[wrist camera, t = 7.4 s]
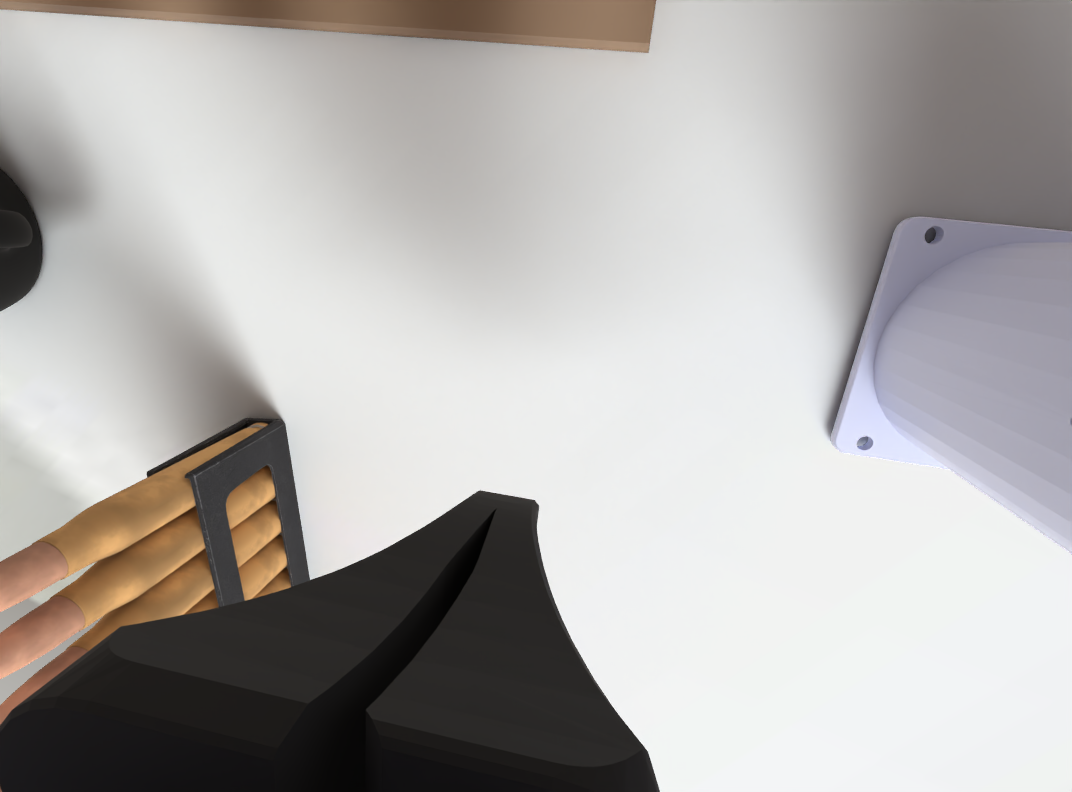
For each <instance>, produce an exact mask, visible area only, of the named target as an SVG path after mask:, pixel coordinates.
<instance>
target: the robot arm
mask: <svg viewBox="0 0 1072 792" xmlns="http://www.w3.org/2000/svg"><path fill="white" fill-rule="evenodd" d="M931 227H933V228H934V229H935V230H936V237H935V239H934V240H933V241H932V242H930V243H927V242H926V240H925V233H926V232H927V230H928V229H929V228H931ZM865 436H868V441H867V442H866V444H864V445H862V446H857V441H858V440H859V439H860V438H861V437H865ZM831 442H832V445H833V446H834V447H835V448H836V449H837V450H839V451H840V452H842V453H845V454H852V455H858V456H865V457H871V458H878V459H884V460H891V461H897V462H904V463H910V464H916V465H923V466H929V467H936V468H942V469H949V470H951V471H952V472H954V473H955V474H957V475H958V476H960V477H961V478H962V479H964V480H965V481H967V482H968V483H970V484H971V485H973V486H974V487H975V488H977V489H978V490H980V491H981V492H983V493H984V494H985V495H987V496H988V497H990V498H991V499H993V500H994V501H996V502H997V503H998V504H1000V505H1001V506H1003V507H1004V508H1006V509H1007V510H1009V511H1010V512H1011V513H1013V514H1014V515H1016V516H1017V517H1019V518H1020V519H1022V520H1023V521H1024V522H1026V523H1027V524H1029V525H1030V526H1032V527H1033V528H1035V529H1036V530H1037V531H1039V532H1040V533H1042V534H1043V535H1045V536H1046V537H1047V538H1049V539H1050V540H1052V541H1053V542H1055V543H1056V544H1058V545H1059V546H1060V547H1062V548H1063V549H1065V550H1066V551H1068V552H1069V553H1071V554H1072V231H1063V230H1053V229H1043V228H1033V227H1023V226H1013V225H1003V224H993V223H983V222H973V221H963V220H953V219H943V218H933V217H923V216H920V217H909V218H907V219H905V220H903V221H902V222H900V223H899V224H898V225H897V227H896V229H895V231H894V233H893V236H892V240H891V243H890V246H889V249H888V253H887V256H886V259H885V262H884V266H883V269H882V272H881V275H880V279H879V282H878V285H877V288H876V291H875V295H874V298H873V301H872V304H871V308H870V311H869V314H868V317H867V321H866V324H865V327H864V330H863V334H862V337H861V340H860V343H859V347H858V350H857V353H856V356H855V359H854V363H853V366H852V369H851V372H850V376H849V379H848V382H847V385H846V389H845V392H844V395H843V398H842V402H841V405H840V408H839V411H838V415H837V418H836V421H835V424H834V428H833V431H832V434H831ZM538 511H539V505H538V504H537V503H536V501H535V500H531V499H525V498H519V497H514V496H508V495H502V494H497V493H491V492H485V491H478V492H476V493H475V494H473V495H472V496H470V497H469V498H467V499H466V500H464V501H463V502H461V503H460V504H458V505H457V506H455V507H454V508H452V509H451V510H449V511H448V512H446V513H445V514H443V515H442V516H440V517H439V518H437V519H436V520H434V521H433V522H431V523H429V524H428V525H426V526H425V527H423V528H421V529H420V530H418V531H416V532H414V533H412V534H411V535H409V536H407V537H405V538H404V539H402V540H400V541H398V542H397V543H395V544H393V545H391V546H389V547H388V548H386V549H384V550H382V551H380V552H378V553H376V554H374V555H371V556H369V557H367V558H365V559H363V560H361V561H358V562H356V563H354V564H351V565H349V566H347V567H345V568H342V569H340V570H337V571H335V572H332V573H329V574H327V575H324V576H321V577H318V578H315V579H313V580H310V581H307V582H304V583H301V584H298V585H296V586H293V587H290V588H287V589H284V590H281V591H278V592H274V593H271V594H267V595H264V596H260V597H257V598H253V599H250V600H246V601H242V602H238V603H234V604H230V605H226V606H222V607H218V608H214V609H209V610H205V611H201V612H195V613H190V614H185V615H180V616H175V617H170V618H164V619H159V620H154V621H149V622H144V623H138V624H132V625H126V626H121V627H119V628H118V629H117V630H115V631H114V632H113V633H111V634H110V635H109V636H107V637H106V638H105V639H103V640H102V641H101V642H100V643H98V644H97V645H96V646H94V647H93V648H92V649H90V650H89V651H88V652H86V653H85V654H84V655H83V656H81V657H80V658H79V659H77V660H76V661H75V662H73V663H72V664H71V665H70V666H68V667H67V668H66V669H64V670H63V671H62V672H60V673H59V674H58V675H57V676H55V677H54V678H53V679H51V680H50V681H49V682H47V683H46V684H45V685H44V686H42V687H41V688H40V689H38V690H37V691H36V692H34V693H33V694H32V695H30V696H29V697H28V698H27V699H25V700H24V701H23V702H21V703H20V704H19V705H17V706H16V707H15V708H14V709H12V710H11V712H10V713H9V714H8V716H7V717H6V718H5V720H4V721H3V722H2V724H1V725H0V787H1V791H2V792H660V791H659V787H658V784H657V781H656V777H655V774H654V770H653V767H652V764H651V761H650V757H649V754H648V751H647V750H646V749H645V747H644V746H643V745H642V744H641V742H640V741H639V740H638V739H637V737H636V736H635V735H634V734H633V732H632V731H631V730H630V729H629V727H628V726H627V725H626V724H625V722H624V721H623V720H622V719H621V717H620V716H619V715H618V713H617V712H616V711H615V709H614V708H613V707H612V705H611V704H610V702H609V701H608V699H607V698H606V696H605V695H604V693H603V692H602V690H601V689H600V687H599V686H598V684H597V683H596V681H595V680H594V678H593V676H592V675H591V673H590V671H589V669H588V668H587V666H586V664H585V662H584V661H583V659H582V657H581V655H580V654H579V652H578V650H577V648H576V647H575V645H574V643H573V641H572V639H571V637H570V635H569V633H568V631H567V629H566V627H565V625H564V623H563V620H562V618H561V616H560V613H559V611H558V609H557V606H556V604H555V601H554V598H553V596H552V593H551V590H550V587H549V584H548V580H547V577H546V574H545V570H544V566H543V562H542V558H541V553H540V548H539V543H538V536H537V519H538Z"/></svg>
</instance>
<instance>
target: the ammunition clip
mask: <svg viewBox="0 0 1072 792" xmlns="http://www.w3.org/2000/svg"><path fill="white" fill-rule="evenodd" d="M147 477H148V478H146V479H144V480H142V481H140V482H138V483H136V484H134V485H132V486H130V487H128V488H126V489H124V490H122V491H120V492H118V493H116V494H114V495H112V496H110V497H108V498H106V499H104V500H102V501H100V502H98V503H96V504H94V505H93V506H91V507H89V508H87V509H86V510H84V511H83V512H81V513H80V514H78V515H77V516H76V517H74V518H73V519H72V520H70V521H69V522H68V523H66V524H65V525H64V526H62V527H61V528H59V529H57V530H56V531H54V532H52V533H50V534H48V535H47V536H45V537H43V538H41V539H39V540H38V541H36V542H34V543H33V544H32V545H31V546H29V547H27V548H25V549H23V550H21V551H19V552H18V553H16V554H14V555H12V556H10V557H8V558H6V559H5V560H3V561H1V562H0V612H1V611H3V610H5V609H7V608H9V607H11V606H13V605H15V604H17V603H19V602H21V601H23V600H25V599H27V598H29V597H31V596H33V595H35V594H36V593H38V592H40V591H42V590H43V589H45V588H47V587H48V586H50V585H52V584H53V583H55V582H57V581H59V580H62V579H64V578H66V577H68V576H70V575H71V574H73V573H75V572H77V571H79V570H80V569H82V568H84V567H86V566H88V565H89V564H92V563H94V562H96V563H95V564H94V565H93V566H92V567H91V568H89V569H88V570H87V571H86V572H85V573H84V574H83V575H82V576H80V577H79V578H78V579H77V580H76V581H74V582H73V583H71V584H70V585H68V586H67V587H65V588H64V589H62V590H61V591H59V592H58V593H57V594H55V595H54V596H52V597H51V598H50V599H49V600H48V601H46V602H45V603H43V604H42V605H40V606H39V607H37V608H36V609H34V610H32V611H31V612H29V613H28V614H26V615H25V616H23V617H22V618H20V619H19V620H17V621H16V622H15V623H13V624H12V625H11V626H9V627H8V628H7V629H5V630H4V631H3V632H1V633H0V679H2V678H4V677H5V676H7V675H9V674H11V673H13V672H15V671H17V670H19V669H20V668H22V667H24V666H26V665H27V664H29V663H31V662H32V661H34V660H36V659H37V658H39V657H41V656H42V655H44V654H46V653H47V652H49V651H51V650H52V649H54V648H55V647H57V646H58V645H59V644H61V643H62V642H64V641H65V640H67V639H68V638H69V637H71V636H72V635H74V634H75V633H77V632H78V631H80V630H83V629H84V628H86V627H87V626H89V625H90V624H92V623H93V622H95V621H96V620H98V619H99V618H101V617H102V616H103V618H102V619H101V620H100V621H99V622H98V623H97V624H96V625H95V626H94V627H93V628H92V629H90V630H89V631H88V632H87V633H85V634H84V635H83V636H82V637H80V638H79V639H78V640H77V641H75V642H74V643H73V644H71V645H70V646H69V647H68V648H67V649H66V651H64V652H63V653H61V654H60V655H59V656H57V657H56V658H55V659H53V660H52V661H51V662H50V663H48V664H47V665H46V666H44V667H43V668H42V669H40V670H39V671H38V672H37V673H36V674H34V675H33V676H32V677H31V678H30V679H28V680H27V681H26V682H25V683H24V684H23V685H22V686H20V687H19V688H18V689H17V690H16V691H15V692H14V693H13V694H12V695H11V696H9V697H8V698H7V699H6V700H5V701H4V702H3V703H2V704H1V705H0V725H1V724H2V722H3V721H4V720H5V718H6V717H7V716H8V714H9V713H10V712H11V710H12V709H14V708H15V707H16V706H17V705H19V704H20V703H21V702H23V701H24V700H25V699H27V698H28V697H29V696H30V695H32V694H33V693H34V692H36V691H37V690H38V689H40V688H41V687H42V686H44V685H45V684H46V683H47V682H49V681H50V680H51V679H53V678H54V677H55V676H57V675H58V674H59V673H60V672H62V671H63V670H64V669H66V668H67V667H68V666H70V665H71V664H72V663H73V662H75V661H76V660H77V659H79V658H80V657H81V656H83V655H84V654H85V653H86V652H88V651H89V650H90V649H92V648H93V647H94V646H96V645H97V644H98V643H100V642H101V641H102V640H103V639H105V638H106V637H107V636H109V635H110V634H111V633H113V632H114V631H115V630H117V629H118V628H119V627H121V626H126V625H132V624H138V623H144V622H149V621H154V620H159V619H164V618H170V617H175V616H180V615H185V614H190V613H195V612H201V611H205V610H209V609H214V608H218V607H222V606H226V605H230V604H234V603H238V602H242V601H246V600H250V599H253V598H257V597H260V596H264V595H267V594H271V593H274V592H278V591H281V590H284V589H287V588H290V587H293V586H296V585H298V584H301V583H304V582H307V581H310V578H309V571H308V565H307V559H306V552H305V546H304V540H303V533H302V527H301V521H300V514H299V508H298V502H297V495H296V489H295V483H294V476H293V470H292V464H291V457H290V451H289V445H288V438H287V432H286V426H285V423H284V422H282V421H281V420H272V419H253V418H245V419H243V420H242V421H240V422H238V423H236V424H234V425H232V426H231V427H229V428H227V429H225V430H223V431H221V432H220V433H218V434H216V435H214V436H212V437H210V438H209V439H207V440H205V441H203V442H201V443H199V444H198V445H196V446H194V447H192V448H190V449H188V450H187V451H185V452H183V453H181V454H179V455H177V456H176V457H174V458H172V459H170V460H168V461H166V462H165V463H163V464H161V465H159V466H157V467H155V468H153V469H151V470H149V471H148V472H147ZM97 561H98V562H97ZM0 792H2V791H1V787H0Z"/></svg>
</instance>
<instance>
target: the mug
mask: <svg viewBox="0 0 1072 792" xmlns="http://www.w3.org/2000/svg"><path fill="white" fill-rule="evenodd" d="M41 261H42V244H41V237H40V233H39V229H38V225H37V222H36V220H35V217H34V214H33V212H32V210H31V208H30V206H29V204H28V202H27V200H26V199H25V197H24V196H23V194H22V193H21V191H20V190H19V188H18V187H17V186H16V185H15V183H14V182H13V181H12V180H11V179H10V178H9V177H8V176H7V175H6V174H5V173H4V172H3V171H2V170H1V169H0V311H2V310H4V309H6V308H8V307H9V306H11V305H13V304H14V303H16V302H17V301H19V300H20V299H21V298H23V297H24V296H25V295H26V294H27V293H28V292H29V291H30V290H31V288H32V287H33V285H34V284H35V282H36V280H37V278H38V275H39V272H40V268H41Z"/></svg>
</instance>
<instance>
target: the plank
mask: <svg viewBox="0 0 1072 792" xmlns="http://www.w3.org/2000/svg"><path fill="white" fill-rule="evenodd" d="M655 4H656V0H0V9H6V10H21V11H35V12H50V13H65V14H80V15H95V16H110V17H124V18H139V19H154V20H169V21H184V22H199V23H214V24H228V25H243V26H258V27H273V28H288V29H303V30H317V31H332V32H347V33H362V34H377V35H392V36H407V37H421V38H436V39H451V40H466V41H481V42H496V43H510V44H525V45H540V46H555V47H570V48H585V49H599V50H614V51H629V52H644V53H648V51H649V44H650V38H651V31H652V24H653V18H654V11H655Z"/></svg>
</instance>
